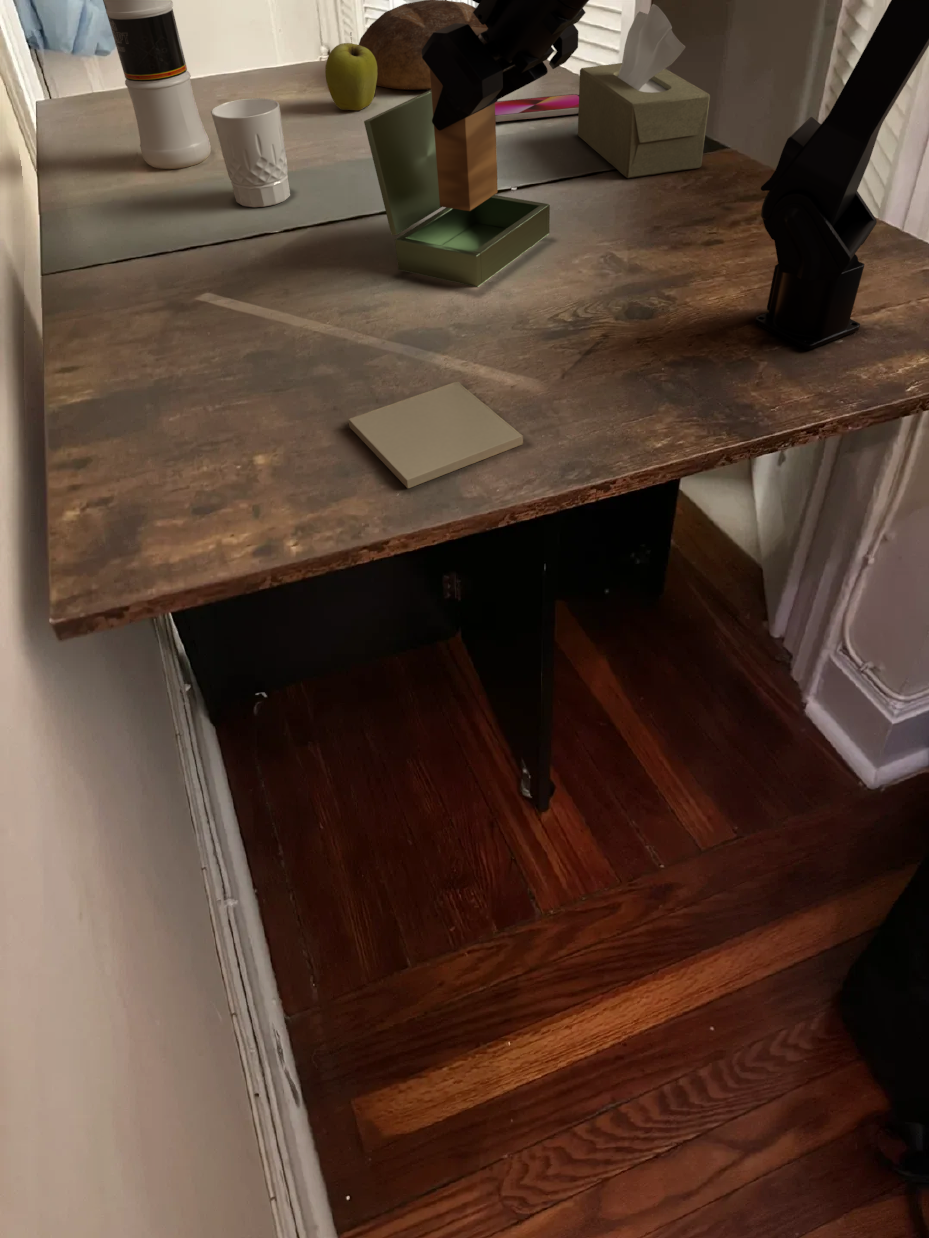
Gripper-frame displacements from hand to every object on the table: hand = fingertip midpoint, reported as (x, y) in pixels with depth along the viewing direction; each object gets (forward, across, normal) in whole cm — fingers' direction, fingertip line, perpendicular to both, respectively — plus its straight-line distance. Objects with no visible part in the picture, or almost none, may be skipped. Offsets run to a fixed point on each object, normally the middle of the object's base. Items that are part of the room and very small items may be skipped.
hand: (452, 117), depth 83 cm
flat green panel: (+6, -1, 0) cm, 6 cm away
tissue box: (+7, -38, +12) cm, 41 cm away
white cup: (+32, -6, -13) cm, 36 cm away
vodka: (+47, -13, -28) cm, 57 cm away
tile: (-2, +30, +21) cm, 36 cm away
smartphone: (+22, -49, -3) cm, 53 cm away
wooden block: (+4, 0, +6) cm, 7 cm away
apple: (+41, -42, -22) cm, 63 cm away
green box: (+9, -1, +10) cm, 14 cm away
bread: (+40, -63, -21) cm, 78 cm away
